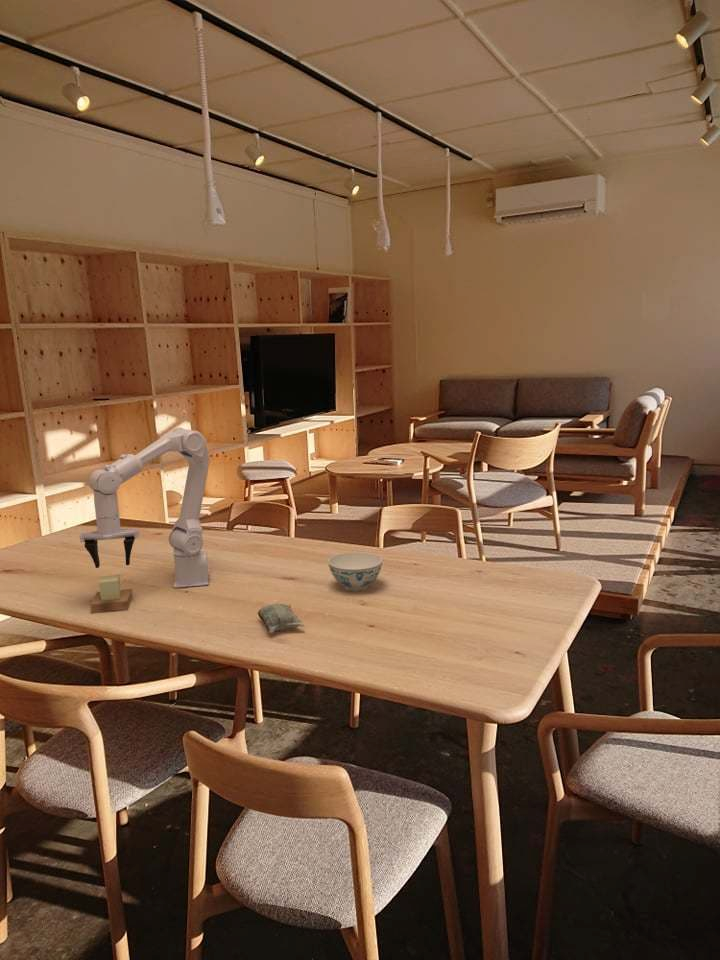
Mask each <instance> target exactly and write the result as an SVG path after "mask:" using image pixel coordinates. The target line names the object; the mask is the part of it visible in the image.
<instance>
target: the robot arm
mask: <svg viewBox="0 0 720 960" xmlns="http://www.w3.org/2000/svg"><path fill="white" fill-rule="evenodd" d="M207 441H208V440H207V439H206V438H205V436H204V434H202V433H201V432H200V431H198V430H194V429H193V430H191V429H186V428H182V427H176V428H174V429H173V430H171V431H169V432H166V433H165V434H164V435H162V436H161V437H159V438H158V439H156V440H155V441H154V442H152V443H151V444H150V445H148V446H147V447H145V448H143V449H142V450H141V451H139V452H137V454H131V453H128V454H124V453H123V454H121V455H120V456H119V459H118V460H115V461H114V462H113V463H112V462H111V464H106V465H104V469H97V470H95V471H93V472H92V473H91V475H90V476H89V480H88V482H87V483H88V485H89V488H90V489H91V490H92V492H93V493H92V494H93V501H94V502H93V503H94V511H95V512H94V513H95V520H96V531H87V532H81V533H80V534H79V542H80V543H84V544H83V545H84V548H85V550H86V551H87V552H88V553H89V555H90V557H91V559H92V561H93V563H94V566H95V569H99V568H100V566H101V565H100V564H101V563H100V557H99V547H98V541H104V540H105V541H106V540H118V539H123V547H124V553H125V566H130V564H131V555H132V554H131V553H132V549H133V546H134V543H135V540H136V539H138V538H140V530H139V528H121V521H120V519H121V518H120V511H119V502H118V492H117V491H118V490H119V488H120V485H122V484H123V483H125V482H126V481H129V480H131V479H132V478H133V477H135V476H137V475H139V474H140V473H141V472H142V469H143V466H144V465H146V464H148V463H150V462H152V461H154V460H156V459H157V458H159V457H162V455H164V454H166V453H168V452H175V453H176V452H177V453H179V454H181V455H182V456H183V457H184V459H185V460H186V461H187V462H188V467H187V468H188V469H187V475H186V480H185V485H184V491H183V496H182V501H181V507H180V513H179V517H178V518H177V519H176V521H174V523H173V528H172V530H171V531H170V532H169V535H168V543H169V545H170V546H171V547H172V548H173V561H174V572H175V573H174V574H175V578H174V583H173V588H174V589H176V588H177V589H178V588H187V587H198V586H199V587H200V586H201V587H202V586H209V580H210V576H211V575H210V570H209V561H208V559H209V558H208V551H202V548H203V546H204V538H203V527H202V526H201V522H200V517H201V512H202V511H201V510H202V506H203V501H204V495H205V494H204V493H205V489H206V488H205V487H206V482H207V477H208V471H209V466H210V456H209V452H208V447H207V443H208V442H207Z"/></svg>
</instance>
